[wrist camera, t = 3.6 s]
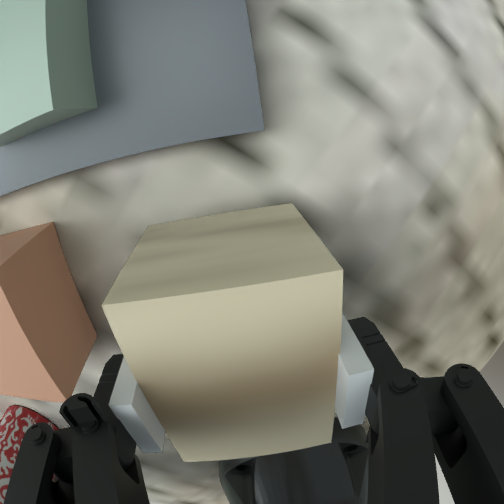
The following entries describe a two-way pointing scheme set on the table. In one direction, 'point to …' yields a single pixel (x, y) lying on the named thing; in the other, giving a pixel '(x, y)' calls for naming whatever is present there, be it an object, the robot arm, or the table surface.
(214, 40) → the baseplate
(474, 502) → the robot arm
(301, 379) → the maple brick
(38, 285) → the terracotta brick
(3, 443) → the mug
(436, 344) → the table surface
